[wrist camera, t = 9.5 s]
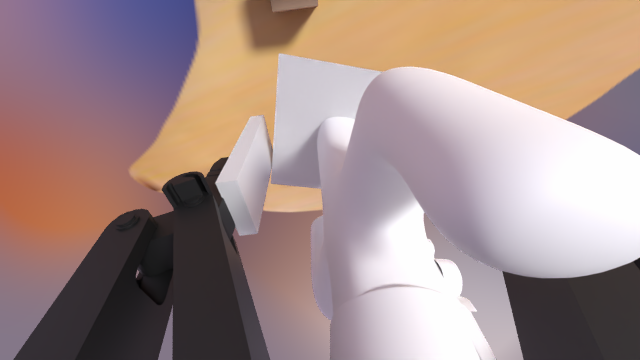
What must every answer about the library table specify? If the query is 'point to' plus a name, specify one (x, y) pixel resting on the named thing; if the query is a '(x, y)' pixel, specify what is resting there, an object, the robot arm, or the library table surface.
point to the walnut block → (292, 5)
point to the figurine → (440, 200)
